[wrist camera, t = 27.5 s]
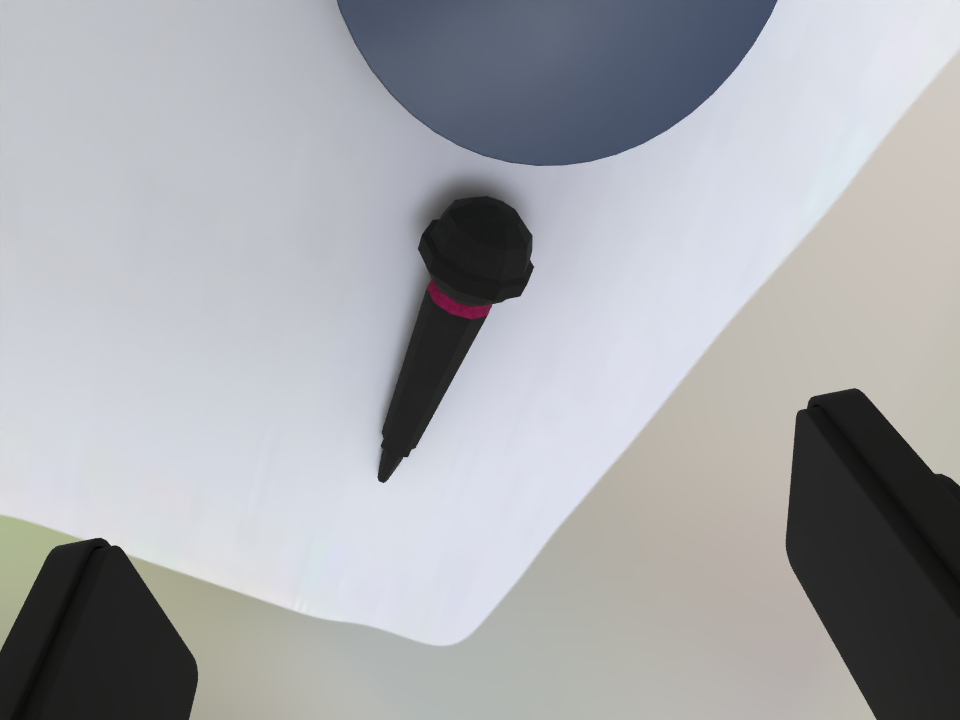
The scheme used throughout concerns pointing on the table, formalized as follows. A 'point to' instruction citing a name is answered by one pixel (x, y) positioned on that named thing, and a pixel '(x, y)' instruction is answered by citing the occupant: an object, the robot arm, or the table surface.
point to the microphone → (453, 309)
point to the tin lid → (553, 68)
